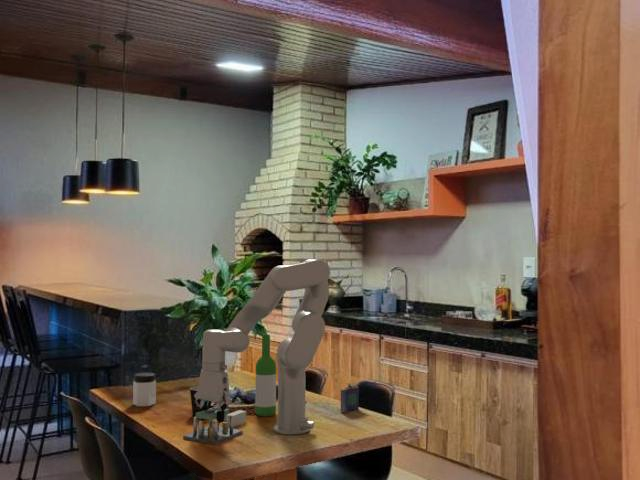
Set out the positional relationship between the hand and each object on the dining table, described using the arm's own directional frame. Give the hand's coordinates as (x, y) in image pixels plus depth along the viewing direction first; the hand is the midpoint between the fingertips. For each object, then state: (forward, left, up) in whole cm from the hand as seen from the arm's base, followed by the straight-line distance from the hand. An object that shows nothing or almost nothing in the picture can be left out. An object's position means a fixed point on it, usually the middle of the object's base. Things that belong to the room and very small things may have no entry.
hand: (212, 420), depth 214 cm
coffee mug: (+20, -20, -5) cm, 29 cm away
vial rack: (0, 0, -5) cm, 5 cm away
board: (0, 0, +2) cm, 2 cm away
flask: (-24, -54, -5) cm, 59 cm away
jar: (+52, -21, -5) cm, 56 cm away
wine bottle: (+1, -33, -5) cm, 33 cm away
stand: (+2, -16, -5) cm, 17 cm away
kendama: (+10, -61, -6) cm, 62 cm away
